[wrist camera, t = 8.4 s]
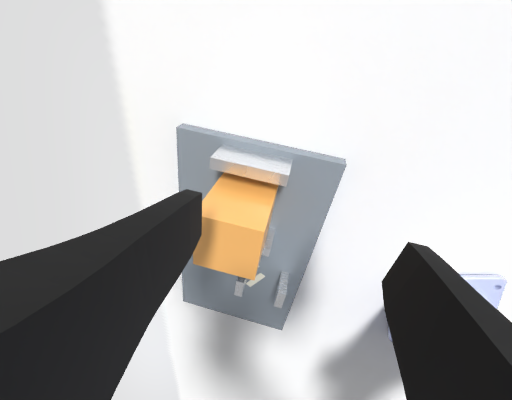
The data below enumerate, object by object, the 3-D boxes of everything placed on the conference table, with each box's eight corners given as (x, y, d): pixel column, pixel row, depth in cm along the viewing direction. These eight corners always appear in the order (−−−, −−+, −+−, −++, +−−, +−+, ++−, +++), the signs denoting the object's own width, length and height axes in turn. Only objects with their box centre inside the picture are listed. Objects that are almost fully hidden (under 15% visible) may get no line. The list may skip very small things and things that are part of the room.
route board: (282, 322, 28) (281, 330, 28) (187, 293, 30) (183, 301, 29) (345, 159, 17) (346, 165, 16) (183, 123, 18) (175, 127, 17)
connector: (270, 222, 20) (254, 280, 15) (223, 210, 20) (193, 263, 15) (279, 179, 18) (264, 232, 13) (227, 167, 18) (192, 214, 13)
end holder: (273, 235, 21) (268, 257, 18) (217, 221, 21) (206, 240, 19) (292, 159, 17) (289, 175, 15) (223, 143, 17) (210, 157, 15)
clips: (284, 286, 24) (281, 308, 22) (193, 261, 25) (182, 280, 23) (299, 241, 20) (297, 263, 18) (193, 214, 21) (180, 232, 19)
